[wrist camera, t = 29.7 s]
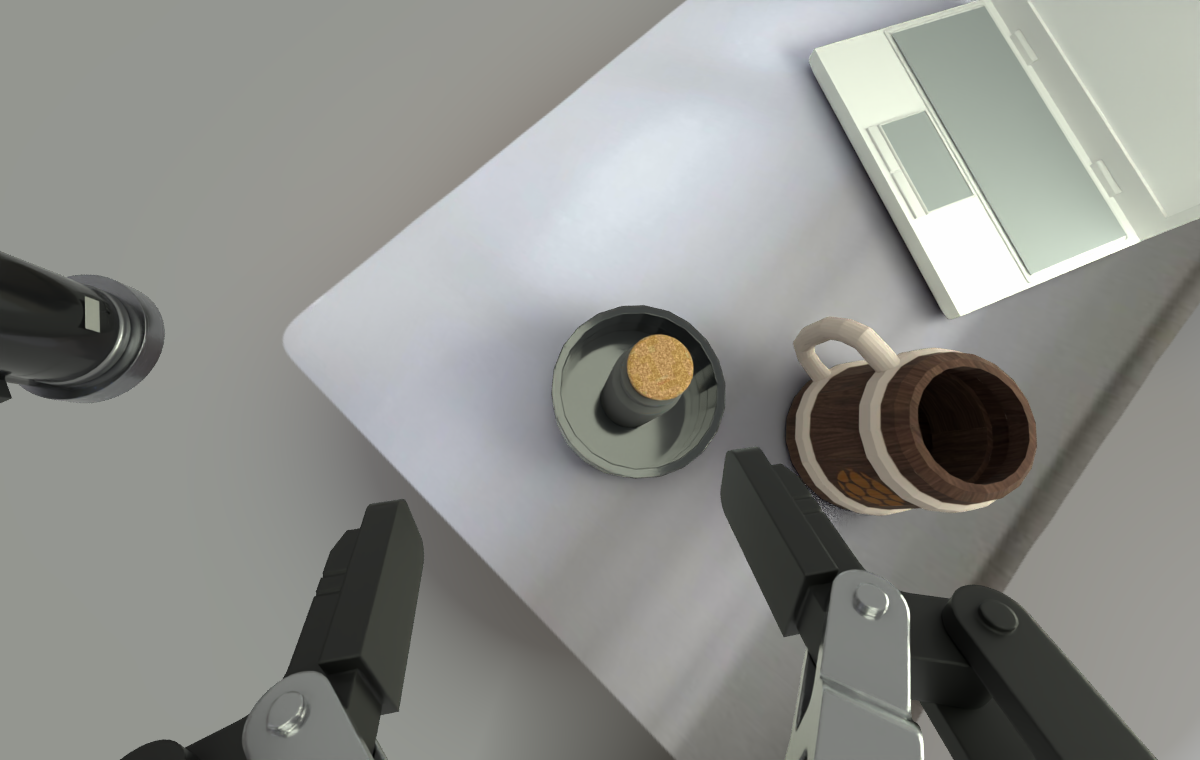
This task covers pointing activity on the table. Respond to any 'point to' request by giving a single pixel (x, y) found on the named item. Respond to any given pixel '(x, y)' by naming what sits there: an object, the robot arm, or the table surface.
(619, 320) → the pot
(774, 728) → the table surface
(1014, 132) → the laptop
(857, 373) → the mug
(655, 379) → the bottle
